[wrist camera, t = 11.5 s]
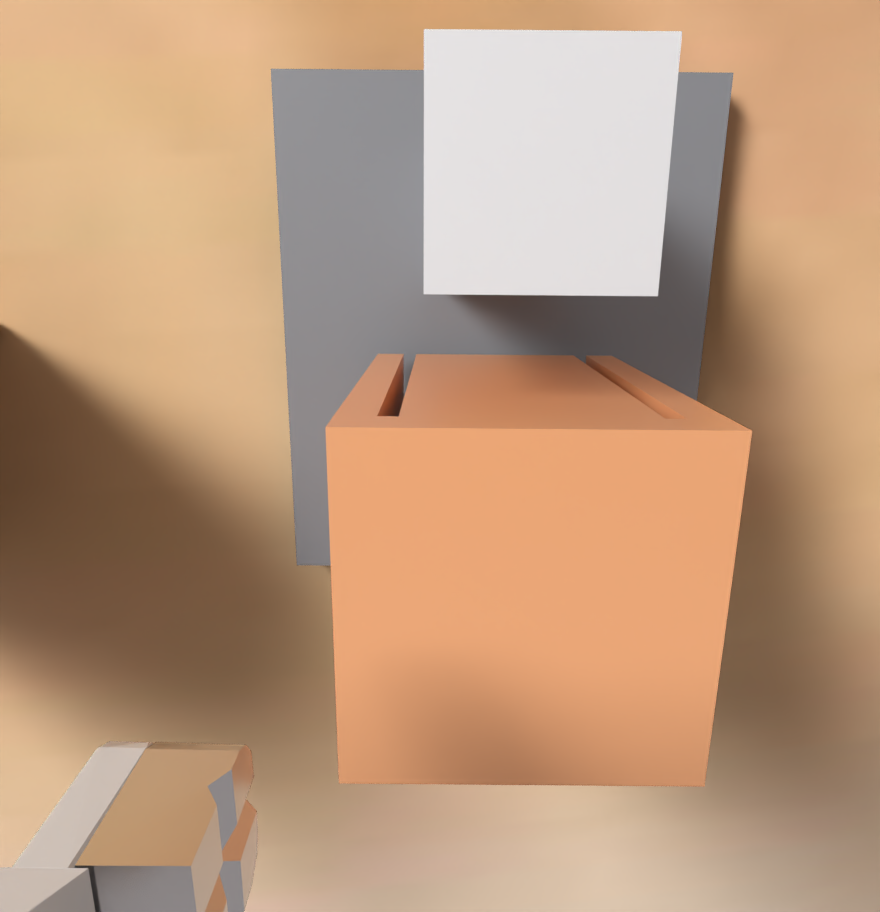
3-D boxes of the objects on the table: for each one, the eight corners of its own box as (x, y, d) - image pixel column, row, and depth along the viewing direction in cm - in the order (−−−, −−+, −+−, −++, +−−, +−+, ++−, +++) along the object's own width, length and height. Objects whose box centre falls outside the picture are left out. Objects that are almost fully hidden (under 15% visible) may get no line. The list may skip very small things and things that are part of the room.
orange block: (377, 353, 19) (325, 427, 10) (611, 355, 19) (752, 430, 10) (381, 568, 20) (338, 783, 12) (595, 570, 20) (704, 786, 12)
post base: (281, 80, 19) (107, -119, 9) (715, 84, 19) (1010, -111, 9) (304, 549, 23) (198, 768, 13) (666, 553, 23) (838, 773, 13)
